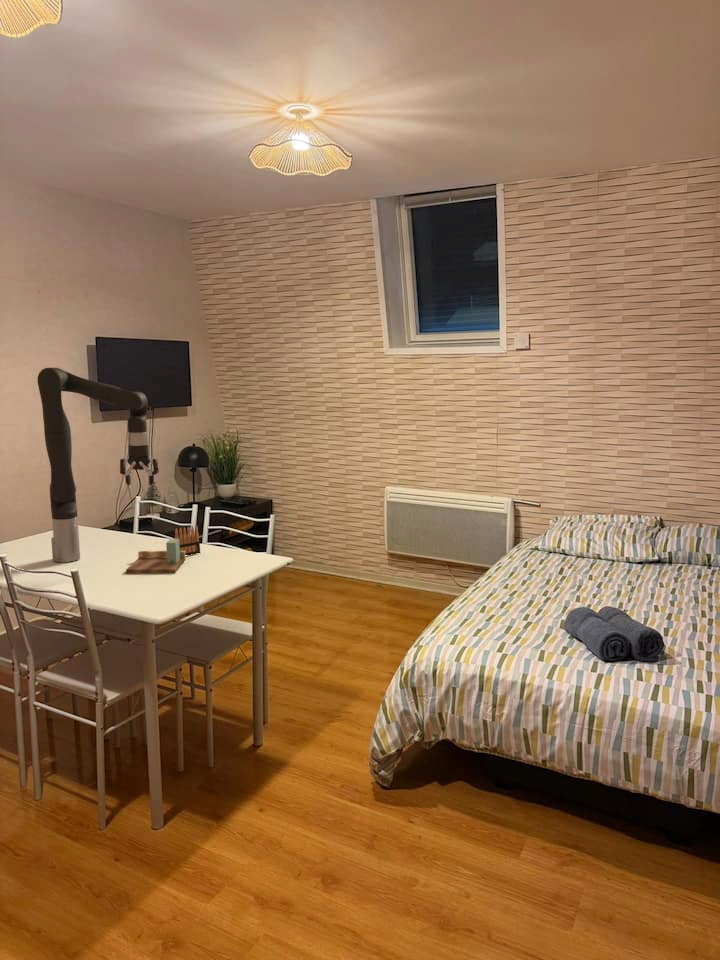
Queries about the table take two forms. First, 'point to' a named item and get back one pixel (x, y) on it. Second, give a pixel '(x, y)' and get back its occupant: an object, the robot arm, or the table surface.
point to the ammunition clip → (188, 540)
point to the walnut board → (155, 563)
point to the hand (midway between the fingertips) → (140, 484)
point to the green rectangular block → (173, 551)
